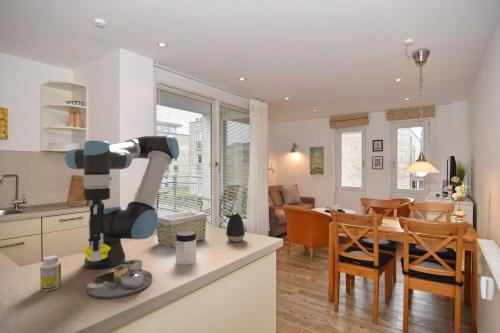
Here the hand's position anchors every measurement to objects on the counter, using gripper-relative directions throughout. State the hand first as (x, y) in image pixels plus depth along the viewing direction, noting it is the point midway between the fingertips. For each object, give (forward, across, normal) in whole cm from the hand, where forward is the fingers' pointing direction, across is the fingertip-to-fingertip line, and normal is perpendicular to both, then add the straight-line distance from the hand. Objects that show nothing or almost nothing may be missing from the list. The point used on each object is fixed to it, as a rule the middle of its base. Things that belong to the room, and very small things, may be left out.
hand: (97, 256), depth 90 cm
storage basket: (+11, +46, -36) cm, 59 cm away
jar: (+11, +14, -32) cm, 36 cm away
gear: (+1, 0, 0) cm, 1 cm away
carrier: (+11, 0, -7) cm, 13 cm away
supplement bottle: (+11, +7, +14) cm, 19 cm away
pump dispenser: (+11, +34, -62) cm, 72 cm away
